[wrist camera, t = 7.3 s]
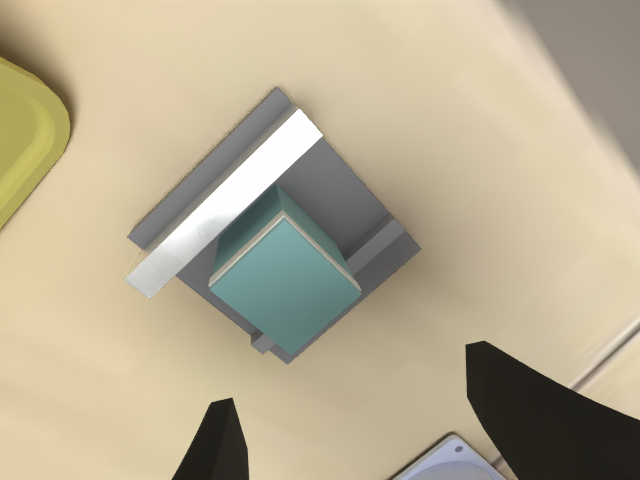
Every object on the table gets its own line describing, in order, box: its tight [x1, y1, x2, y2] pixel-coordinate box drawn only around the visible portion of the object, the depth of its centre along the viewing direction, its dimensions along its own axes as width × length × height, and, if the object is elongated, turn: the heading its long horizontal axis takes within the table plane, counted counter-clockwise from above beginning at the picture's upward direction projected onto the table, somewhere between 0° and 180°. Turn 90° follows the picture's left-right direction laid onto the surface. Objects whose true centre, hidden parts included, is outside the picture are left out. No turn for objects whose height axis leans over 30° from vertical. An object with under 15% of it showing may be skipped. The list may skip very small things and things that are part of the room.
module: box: [208, 183, 362, 355], centre depth 17 cm, size 4×4×5 cm
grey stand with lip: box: [127, 87, 421, 364], centre depth 20 cm, size 10×9×2 cm
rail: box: [124, 103, 322, 299], centre depth 17 cm, size 1×9×3 cm, turn 132°
